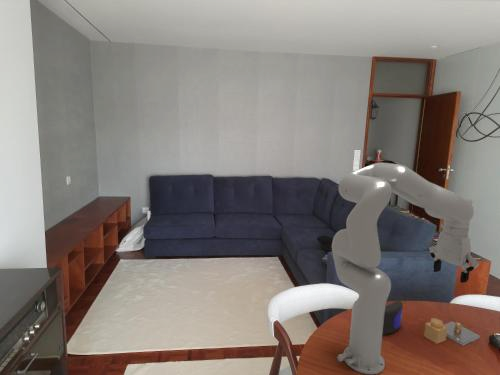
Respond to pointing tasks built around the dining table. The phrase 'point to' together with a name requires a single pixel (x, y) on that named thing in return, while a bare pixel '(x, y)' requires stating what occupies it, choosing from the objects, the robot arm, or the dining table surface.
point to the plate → (460, 333)
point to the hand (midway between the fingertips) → (449, 276)
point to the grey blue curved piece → (392, 317)
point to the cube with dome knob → (435, 331)
